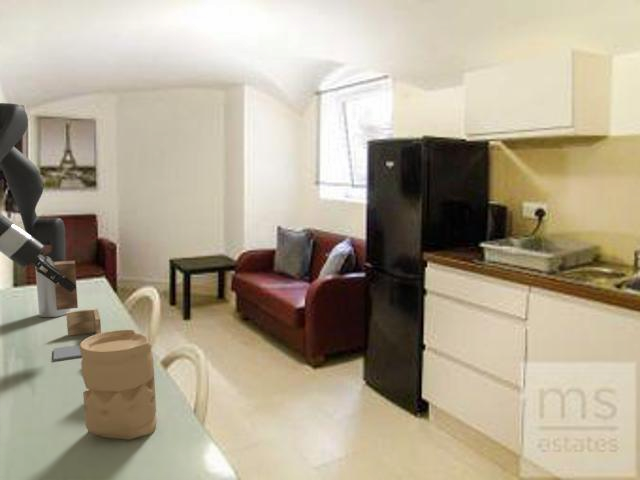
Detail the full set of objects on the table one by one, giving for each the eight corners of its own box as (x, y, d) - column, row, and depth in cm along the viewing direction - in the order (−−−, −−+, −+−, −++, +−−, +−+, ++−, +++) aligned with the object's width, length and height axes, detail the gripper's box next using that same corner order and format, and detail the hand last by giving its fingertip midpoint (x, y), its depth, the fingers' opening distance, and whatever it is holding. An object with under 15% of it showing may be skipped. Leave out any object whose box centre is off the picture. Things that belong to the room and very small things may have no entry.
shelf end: (68, 347, 144) (66, 323, 143) (67, 334, 156) (66, 311, 155) (101, 342, 148) (100, 319, 147) (99, 330, 159) (97, 308, 158)
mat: (54, 350, 142) (53, 348, 142) (89, 345, 146) (89, 343, 146) (53, 361, 134) (53, 359, 134) (91, 355, 138) (91, 353, 138)
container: (141, 408, 107) (136, 325, 105) (167, 431, 98) (163, 340, 95) (77, 429, 99) (70, 338, 97) (99, 456, 90) (92, 357, 87)
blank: (56, 310, 135) (53, 264, 133) (57, 305, 139) (54, 261, 138) (77, 307, 137) (74, 263, 136) (77, 303, 142) (74, 260, 140)
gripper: (28, 237, 126) (85, 281, 133) (31, 232, 139) (83, 272, 146) (4, 260, 125) (63, 304, 131) (10, 253, 137) (64, 292, 144)
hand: (73, 287), depth 138 cm, fingers closed on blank, 5 cm apart
